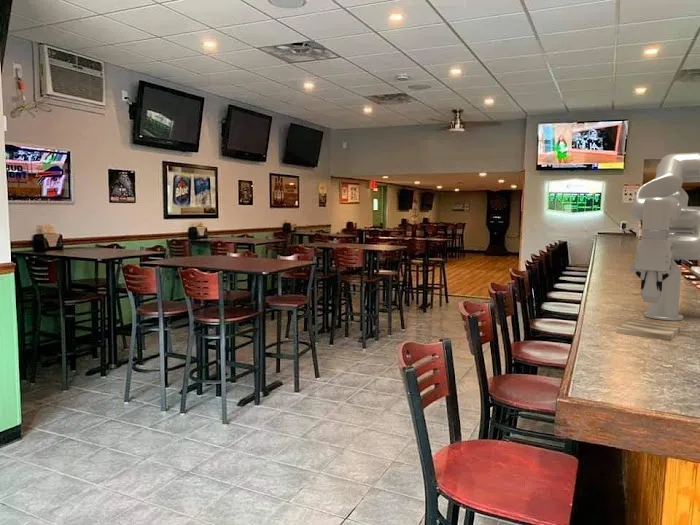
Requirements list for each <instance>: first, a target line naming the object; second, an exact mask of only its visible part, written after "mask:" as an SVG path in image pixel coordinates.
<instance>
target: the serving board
mask: <svg viewBox="0 0 700 525" xmlns="http://www.w3.org/2000/svg"><path fill="white" fill-rule="evenodd" d="M680 331H681V326H680V325H673V324H672V325H671V324H665V323H664V324H663V323H657V322H649V321H640V320H632V319H629V320H628V321H626V322H624V323H623V324H620V325H619V326H618V327H616V334H617V333H618V334H621V335H622V334H624V335H631V336H636V337H637V336H638V337H642V336H643V337H644V338H650V339H657V340H664V341H671V340H672V339H673V338H674V337H676V335H677V334H678V333H680ZM643 337H642V338H643Z"/></svg>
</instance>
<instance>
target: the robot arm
mask: <svg viewBox="0 0 700 525" xmlns="http://www.w3.org/2000/svg"><path fill="white" fill-rule="evenodd" d="M655 173H656V174H655V177H654V178H653V179H651V180H649V181H648V182H646V183H644V184H643V185H641V186H640V187H639V188H638V189H637V190H636V192H635V195H634V197H633V200H632V203H631V208H630V211H631V212H630V213H631V216H632V217H633V218H634V219H635V220H639V221H642V222H641V223H642V224H641V226H642V227H641V239H638V243H637V247H636V252H635V257H634V262H633V263H632V265H631V267H630V268H629V272H631V273H633V274H635V275H636V276H637V277H638V278H639V279H640V282H641V283H640V290H641V291H642V288H644V285H645V279H646V274H647V271H656V272H658V281H657V282H656V284H657V285H656V286H657V290H658V287H659V290H660V291H661V298H660V300H659V302H658V303H648V305H649V306H648V311H645V312H643V316H644V317H645V318H649V319H653V320H661V321H672V322H673V321H676V322H677V321H683V320H684V315H682V314H679V310H680V297H681V284H682V282H681V281H682V270H681V267H680V266H679V264H678V263H676V261H674V260H687V261H688V260H690V261H699V260H700V206H688V202H689V195H688V193H687V192H686V191H685V189H684V188H682V186H683V183H700V152H680V153H679V152H678V153H669V154H667V155H664V156H663V157H662V159H660V162H659V163H658V165H657V166H656V170H655Z"/></svg>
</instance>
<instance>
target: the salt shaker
mask: <svg viewBox="0 0 700 525" xmlns="http://www.w3.org/2000/svg"><path fill="white" fill-rule="evenodd" d="M657 281H658V272H656V271H647V274H646V279H645V285H644V288H642V290H641V291H640V296H641V298H642V301H643V302H644V303H648V304H649V303H658V302H659V300H660V298H661V291H660V290H659V287H658V290H657V286H656V285H657V284H656V282H657Z"/></svg>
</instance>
